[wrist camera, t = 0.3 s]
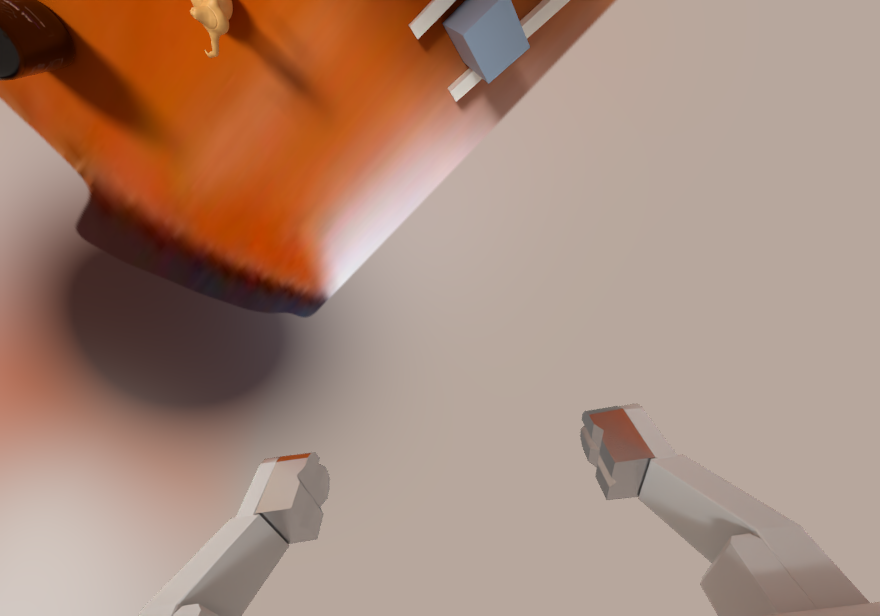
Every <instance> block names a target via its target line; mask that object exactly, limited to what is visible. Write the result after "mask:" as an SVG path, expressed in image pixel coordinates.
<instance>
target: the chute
mask: <svg viewBox="0 0 880 616" xmlns="http://www.w3.org/2000/svg"><path fill="white" fill-rule="evenodd" d="M455 1H456V0H432V1H431V2H430V3H429V4H428V5H427V6H426V7H425V8H424V9H423V10H422V11H421V12H420V13H419V14H418V16H417V17H416V18H415V19H414V20H413V21H412V22H411V23H410V24H409V27H410V28H411V30H412V32H413V33H414V35H415V36H416V38H417V39H419V38H420V37H421V36H422V35H423V34H424V33H425V32H426V31H427V30H428V29H429V28H430V27H431V26H432V25H433V24H434V22H435V21H436V20H437V19H438V18H439V17H440V16H441V15H442V14H443V13H444V12H445V11H446V10H447V9H448V8H449V7H450V6H451V5H452V4H453V3H454V2H455ZM569 1H570V0H542V1H541V2H540V3H539V4H538V5H537V6H536V7H535V8H534V9H533V10H531V11H530V12H529V13H528V14H527V15H526V16H525V17H524V18H523V19H522V20H521V21H520V24H521V26H522V28H523V31H524V33H525V36H526V38H529V37H530V36H531V35H532V34H533V33H534V32H535V31H536V30H537V29H539V28H540V27H541V26H542V25H543V24H544V23H545V22H546V21H548V20H549V19H550V18H551V17H552V16H553V15H554V14H555V13H557V12H558V11H559V10H560V9H561V8H562V7H563V6H564V5H566V4H567V3H568V2H569ZM481 79H482V78H481V77H480V76H479V75H478V74H477V73H475V72H474V71H473V70H472V69H471V68H469V69H467V70H466V71H465V72H464V73H463V74H462V75H461V76H460V77H459V78H458V79H457V80H455V81H454V82H453V83H452V84H451V85H450V86H449V87H448V90H449V92H450V93H451V95H452V96H453V98H454V99H455V101H456V102H457V101H458V100H459V99H460V98H461V97H462V96H463V95H465V94H466V93H467V92H468V91H469V90H470V89H471V88H472V87H474V86H475V85H476V84H477V83H478V82H479V81H480V80H481Z"/></svg>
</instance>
